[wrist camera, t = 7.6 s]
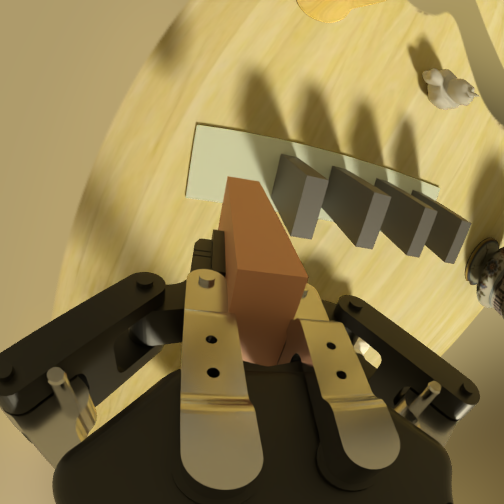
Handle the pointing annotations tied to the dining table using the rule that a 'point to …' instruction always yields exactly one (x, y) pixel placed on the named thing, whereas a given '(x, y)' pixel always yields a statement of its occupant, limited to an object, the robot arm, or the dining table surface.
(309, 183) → the domino
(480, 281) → the apothecary jar
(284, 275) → the domino
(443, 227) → the domino
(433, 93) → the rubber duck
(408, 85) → the dining table surface
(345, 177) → the domino
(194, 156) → the mat
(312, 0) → the beer glass
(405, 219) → the domino
